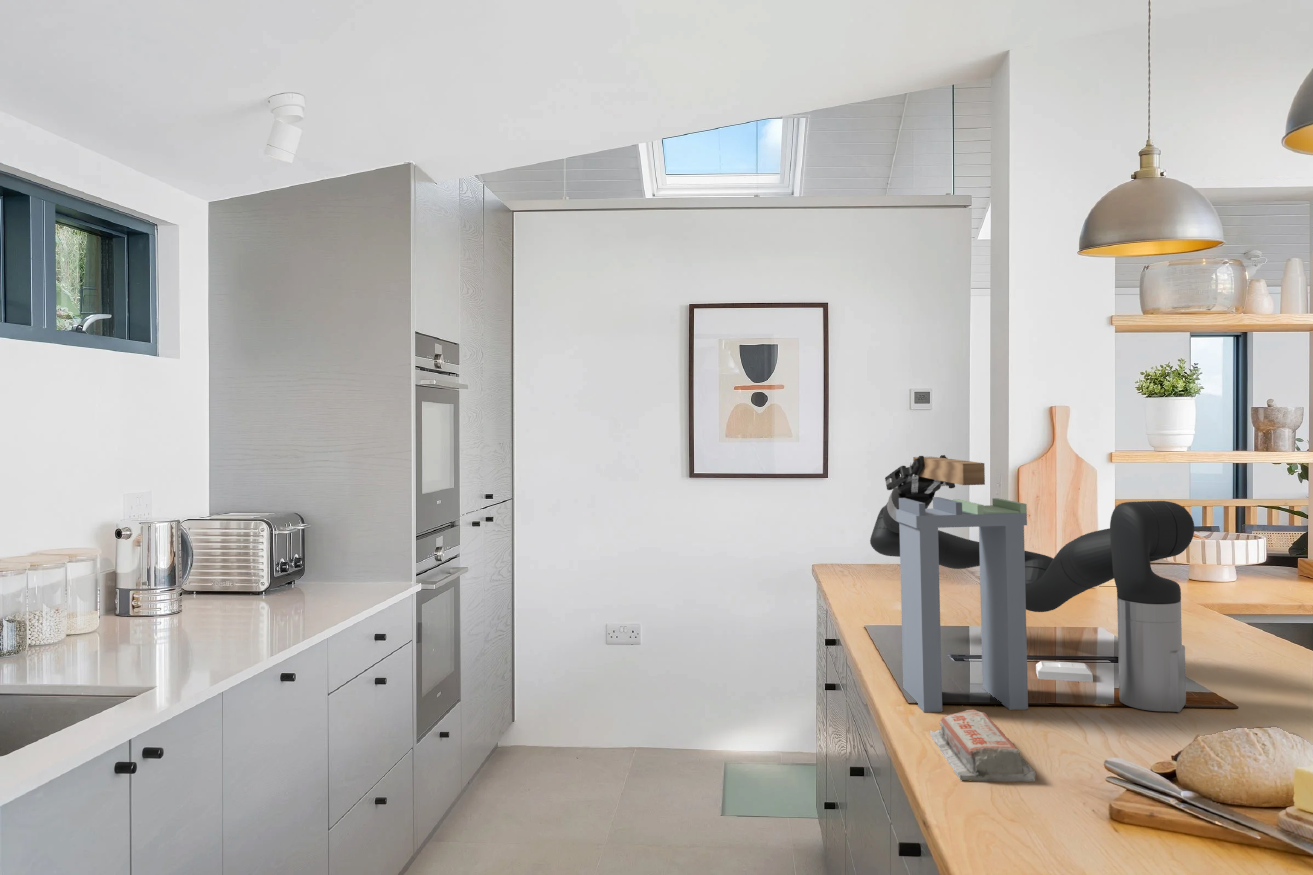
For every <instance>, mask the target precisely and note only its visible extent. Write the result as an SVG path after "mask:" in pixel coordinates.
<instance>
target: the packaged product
mask: <svg viewBox="0 0 1313 875" xmlns="http://www.w3.org/2000/svg"><path fill="white" fill-rule="evenodd" d="M939 726H940V729H937V730H936V731H933V730H930V729H929V734H930V737H931V738H932V740H933V742H934V744H936V746H937V747H938V748H940V749H939V751H940V752H941V754H942V753H943V754H944V755H943V754H942V755H943V756H944V759H945V758H946V759H945V761H946V760H947V761H948V762H947V761H946V762H947V764H948V765H949V766H950V765H951V766H952V767H951V766H950V767H951V769H952V768H953V769H952V770H953V772H954V773H955V774H956V776H957V777H959V778H960V779H959V778H958V779H959V780H960V781H961V780H973V781H972V782H1036V773H1037V772H1036V771H1035V770H1034V769H1033V768H1032V767H1031V765H1029V763H1028V762H1027V761H1026V760H1025V759H1024V758H1023V756H1022V755H1021V754H1020V750H1019V749H1018V748H1017V747H1016V745H1015V744H1014V743H1013V742H1012V741H1011V740H1010V738H1008V737H1007V736H1006V734H1005V733H1004V732H1003V731H1002V729H1000V728H999V727H998V726H997V725H996V724H995V723H994V721H993V720H992V719H991V718H990V717H989V716H988V714H987V713H986V712H982V711H979V710H976V709H966V710H964V711H959V712H956V713H955V712H954V713H951V714H947V715H945V716H942V718H941V719H940V722H939Z"/></svg>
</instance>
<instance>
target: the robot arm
mask: <svg viewBox="0 0 1313 875" xmlns="http://www.w3.org/2000/svg"><path fill="white" fill-rule="evenodd" d="M917 457H918V458H916V459H915V460H914V462H913V461H912V463H911V464H910V465H909V466H906V465H900V466H899V467H897V469H895V470H893V471H892V472H890V474H888V475H887V476H885V478H884V481H885V485H886V486H885V488H886V490H887V491H891V492H890V495H889V496H888V500H887V502H886V504H885V505H884V506H882V507H881V508H880V511H879V512H878V515H877V518H876V521H875V524H874V527H873V530H872V533H871V535H870V540H869V542H870V543H869V544H870V546H871V548H872V549H874V551H875V552H876V553H878V554H880V555H883V556H886V557H898V558H900V530H899V522H898V521H896V510H897V509H899V498H907V499H910V500H914V501H918V502H922V503H925V509H929V506H930V505H931V503H933V497H935V495H936V492H937V491H939V490H940V489H941V487H948V489H955V488H956V485H955V483H950V482H945V481H939V480H934V479H929V478H924V477H919V476H918V474H920V473H921V471H922V470H923V468H924V466H925V463H924V457H925V456H924V455H919V456H917ZM939 458H947V459H949V458H948V457H947V456H946V455H945V454H944V455H943V454H942V455H940V457H939ZM1194 534H1195V523H1194V519H1193V517H1192V515H1191V514H1190V512H1189V511H1188V510H1187V509H1186V508H1185V507H1183V506H1182V505H1180V504H1178V503H1176V502H1172V501H1166V500H1152V501H1150V500H1148V501H1147V500H1145V501H1125V502H1122V503H1119V504H1117V506H1115V507H1114V509H1113V510H1112V513H1111V516H1110V522H1109V528H1105V529H1101V530H1095V531H1091V532H1088V533H1085V534H1083V535H1080V536H1078V537H1076V538H1074V539H1073V540H1071V541H1069V542H1067V543H1066V544H1065V545H1064V546H1063V547H1061V548H1060V550H1059V551H1058V552H1057V553H1056V554H1055V556H1054V557H1051V556H1048V555H1045V554H1043V553H1039V552H1033V551H1028V550H1025V593H1026V611H1029V612H1033V613H1047V612H1050V611H1054V610H1056V609H1058V608H1060V607H1061V606H1062V605H1063V604H1065V603H1067V602H1068V601H1069V600H1071V599H1072V598H1074V597H1076V596H1078V595H1079V594H1082V593H1085V592H1086V591H1088V590H1091V589H1093V588H1095V587H1098V586H1101V585H1104V584H1105V583H1107V582H1108V583H1109V581H1111V580H1114V584H1115V587H1116V593H1117V594H1116V600H1117V601H1116V602H1117V605H1116V606H1117V608H1116V610H1117V611H1116V612H1117V645H1118V646H1117V647H1118V648H1117V652H1118V653H1117V654H1118V655H1117V656H1118V659H1117V660H1118V693H1119V695H1118V696H1119V702H1120V703H1122V704H1124V705H1126V706H1128V707H1131V708H1135V709H1139V710H1143V711H1144V710H1145V711H1151V712H1152V711H1153V712H1173V713H1181V711H1182V710H1183V708H1184V706H1185V705H1186V704H1187V690H1186V689H1187V687H1186V686H1187V684H1186V683H1187V681H1186V676H1187V674H1186V648H1185V645H1183V642H1182V641H1183V636H1182V629H1183V628H1182V592H1181V586H1180V583H1178V582H1177V581H1175V580H1172V579H1169V578H1166V577H1162V576H1160V575H1158V574H1156V573H1155V572H1154V571H1153V569H1152V566H1151V565H1152V564H1151V562H1156V561H1159V560H1163V559H1168V558H1172V557H1175V556H1178V555H1181V554H1182V553H1183V552H1185V550H1186V549H1187V548H1189V547H1190V544H1191V543H1192V540H1193V538H1194ZM938 546H939V566H940V567H944V568H948V569H954V570H955V569H956V570H964V569H969V568H970V569H971V568H975V567H980V553H979V541H976V540H971V539H968V538H964V537H960V536H957V535H954V534H951V533H948V532H945V531H942V530H939V529H938Z"/></svg>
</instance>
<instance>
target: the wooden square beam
mask: <svg viewBox="0 0 1313 875" xmlns="http://www.w3.org/2000/svg"><path fill="white" fill-rule="evenodd" d="M918 457H919V456H914V457H913V460H912V463H913V462H914V460H915V459H916V458H918ZM947 458H948V457H946V458H940V457H939V456H938V457H937V456H924V463H925V466H924V468H923V470H922V471H921V473H920V474H918V476H919V477H924V478H929V479H934V480H939V481H945V482H950V483H955V484H956V485H960V486H984V485H986V484H985V483H986V481H985V480H986V476H985V474H986V472H985V471H986V470H985V469H986V468H985V462H978V461H972V460H971V461H970V460H962V459H953V458H948V459H947Z"/></svg>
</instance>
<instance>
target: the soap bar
mask: <svg viewBox="0 0 1313 875" xmlns="http://www.w3.org/2000/svg"><path fill="white" fill-rule="evenodd" d="M1035 673H1036V676H1037V679H1038V680H1049V681H1051V680H1052V681H1066V682H1083V683H1084V682H1085V683H1093V682H1094V680H1093V679H1094V678H1093V675H1094V674H1093V671H1091V668H1090V667H1089V666H1088V665H1087V663H1084V662H1067V661H1049V660H1041V661H1039V662H1037V663H1036V664H1035Z"/></svg>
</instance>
